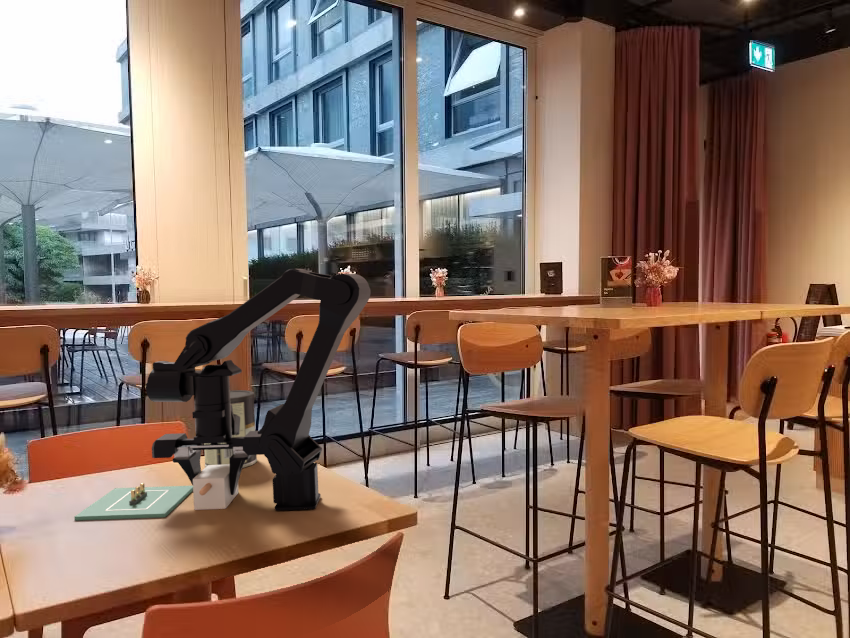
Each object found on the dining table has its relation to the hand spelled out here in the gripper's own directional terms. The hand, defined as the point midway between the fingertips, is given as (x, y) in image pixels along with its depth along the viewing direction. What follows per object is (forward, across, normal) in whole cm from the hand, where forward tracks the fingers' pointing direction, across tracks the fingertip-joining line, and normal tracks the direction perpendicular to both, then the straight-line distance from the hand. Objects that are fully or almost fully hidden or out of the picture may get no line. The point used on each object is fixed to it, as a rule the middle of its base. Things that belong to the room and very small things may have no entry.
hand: (216, 494), depth 109 cm
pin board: (+1, +13, 0) cm, 13 cm away
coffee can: (+1, +4, -23) cm, 23 cm away
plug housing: (+1, 0, +2) cm, 2 cm away
